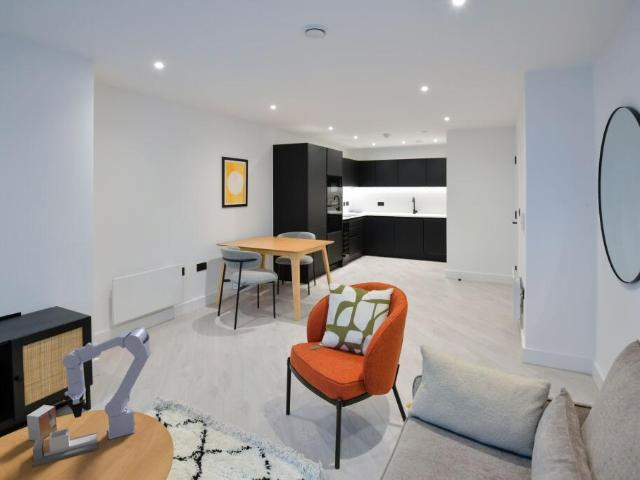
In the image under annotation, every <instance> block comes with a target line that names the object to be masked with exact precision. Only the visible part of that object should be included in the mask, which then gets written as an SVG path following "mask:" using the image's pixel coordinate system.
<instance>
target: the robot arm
mask: <svg viewBox="0 0 640 480" xmlns="http://www.w3.org/2000/svg"><path fill="white" fill-rule="evenodd" d="M150 337H151V336H150V334H149V333H148V330H147V329H146V328H145V327H141V326H139V327H136V328H134V329H129V330H126V331H124V332H122V333H120V334H117V335H116V336H114V337H111V338H108V339H107V340H104V341H103V342H100V343H97V342H92V343H91V342H88V343H87V344H85V346H82V347H80V348H79V347H77V348H75V349H72V350H71V351H70V352H68V354H66V355H65V356H64V357H63V359H62V365H63V366H64V368H66V380H67V391H65V392H64V396H65V397H66V396H68V398H70V399H71V400H70V401H68V403H67V406H68V407H69V408H70V410H71V411H72V414H73V417H74V418H75V419H76V418H81V417H82V415H83V407H84V404H85V402H86V398H84V395H85V393H86V391H87V390H86V389H87V388H86V385H85V372H84V371H85V370H84V363H86V362H88V361H92V360H94V359H95V358H97V357H100V356H101V353H102V352H105V351H107V350H110V349H113V348H115V347H120V348H122V349H126V350H127V351H128V352H129V353H130V354H131V355H132V356H133V357H134V359H133V360H132V362H131V364H130V366H129V368H128V370H127V371H126V374H125V375H124V377H123V379H122V381H121V383H120V385H119V386H118V388H117V390H116V392H115V393H114V394H113V396H112V398H111V399H110V400H109V402H107V403H106V405H105V406H104V412H105V414H106V415H107V417H108V428H107V431H108V432H107V433H108V434H107V435H108V440H112V439H116V438H119V437H123V436H127V435H131V434H134V433H135V431H136V430H135V428H136V427H135V425H136V421H135V413H134V407H128V403H129V401H130V394H131V392H132V389H133V387H134V386H135V383H136V382H137V380H138V378H139V376H140V374H141V372H142V370H143V368H144V367H145V365H146V363H147V361H148V359H149V357H150V355H151V350H150V349H151V348H150V346H151V345H150Z"/></svg>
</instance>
